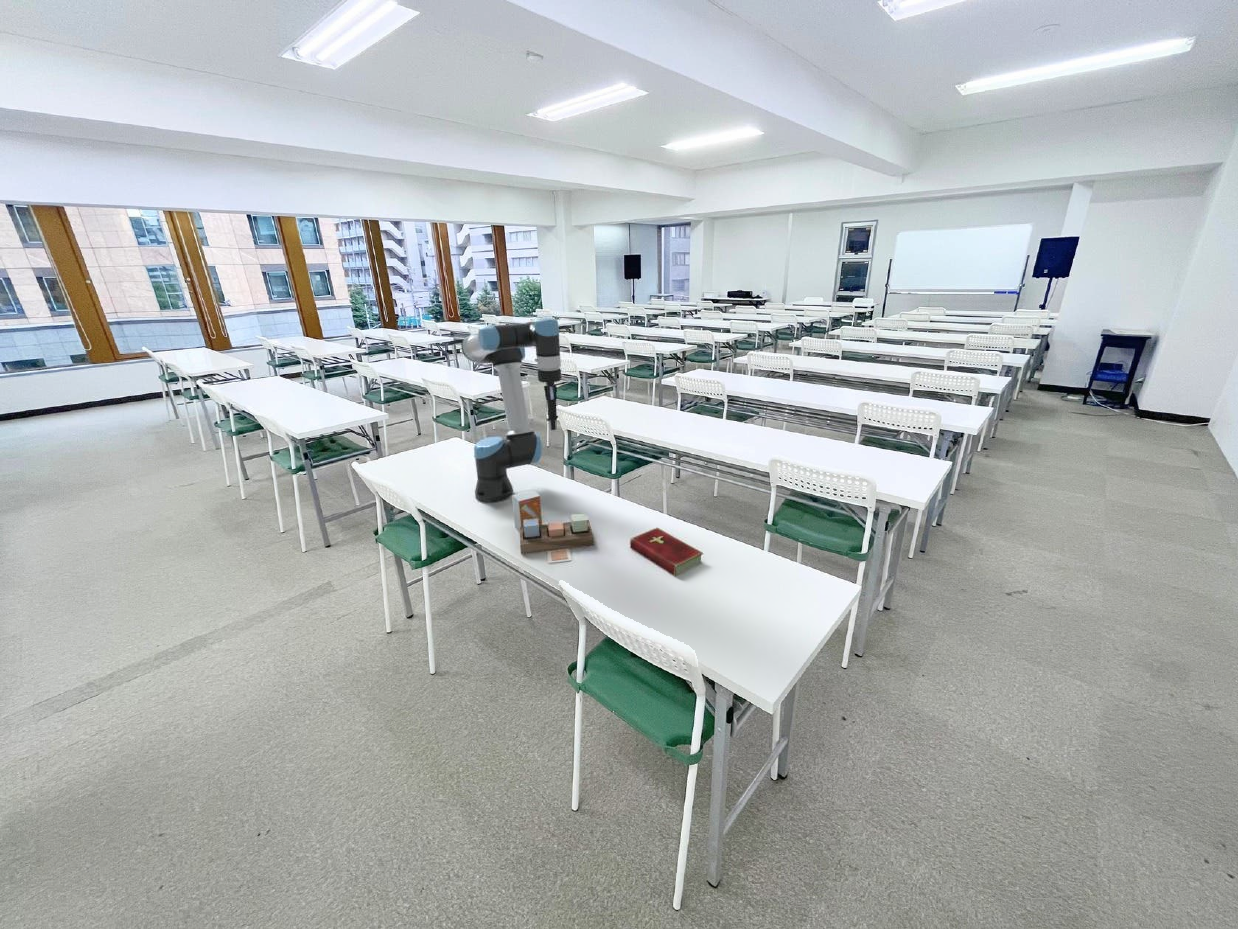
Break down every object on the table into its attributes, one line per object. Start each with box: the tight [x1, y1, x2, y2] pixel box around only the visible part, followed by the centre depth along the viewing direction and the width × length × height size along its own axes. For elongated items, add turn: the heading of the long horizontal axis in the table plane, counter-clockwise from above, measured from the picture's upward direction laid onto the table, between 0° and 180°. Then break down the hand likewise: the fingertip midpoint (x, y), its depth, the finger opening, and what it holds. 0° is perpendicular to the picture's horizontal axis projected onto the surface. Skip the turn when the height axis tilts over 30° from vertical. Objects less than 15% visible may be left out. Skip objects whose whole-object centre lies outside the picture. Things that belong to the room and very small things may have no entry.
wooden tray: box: [519, 519, 595, 555], centre depth 167 cm, size 12×24×4 cm, turn 101°
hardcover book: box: [629, 527, 704, 577], centre depth 158 cm, size 12×21×4 cm, turn 38°
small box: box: [511, 489, 543, 533], centre depth 174 cm, size 8×6×13 cm
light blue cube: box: [523, 518, 539, 537], centre depth 165 cm, size 5×5×5 cm
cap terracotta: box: [547, 521, 564, 537], centre depth 167 cm, size 5×5×5 cm
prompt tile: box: [546, 549, 572, 564], centre depth 159 cm, size 7×7×1 cm
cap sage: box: [570, 513, 588, 532], centre depth 167 cm, size 5×5×5 cm
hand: (553, 437), depth 168 cm, fingers closed
